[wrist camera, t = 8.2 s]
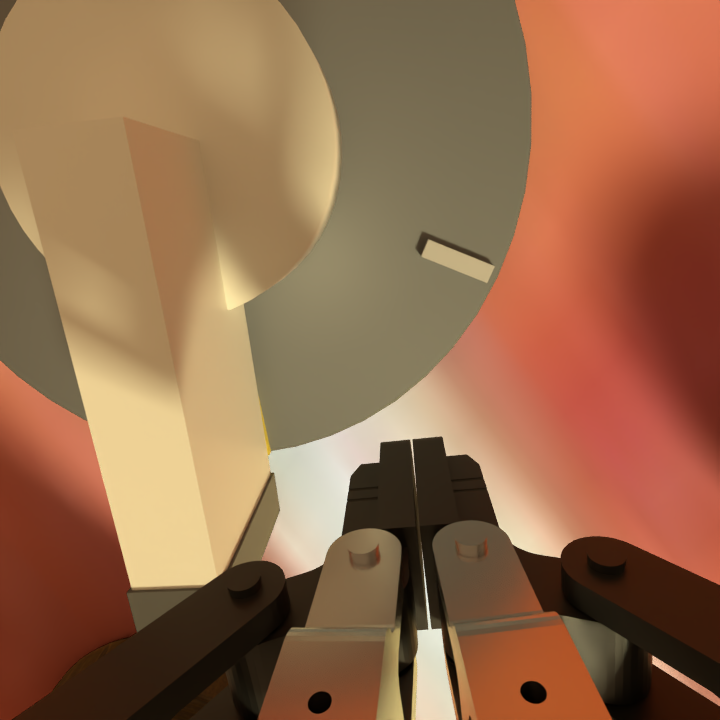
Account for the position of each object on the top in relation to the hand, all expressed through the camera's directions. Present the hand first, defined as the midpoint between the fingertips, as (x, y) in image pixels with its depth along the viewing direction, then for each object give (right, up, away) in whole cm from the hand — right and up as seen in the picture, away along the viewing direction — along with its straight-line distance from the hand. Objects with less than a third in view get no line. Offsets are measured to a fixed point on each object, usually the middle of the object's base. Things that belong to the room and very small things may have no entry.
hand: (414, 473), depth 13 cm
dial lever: (-7, +6, +5) cm, 10 cm away
